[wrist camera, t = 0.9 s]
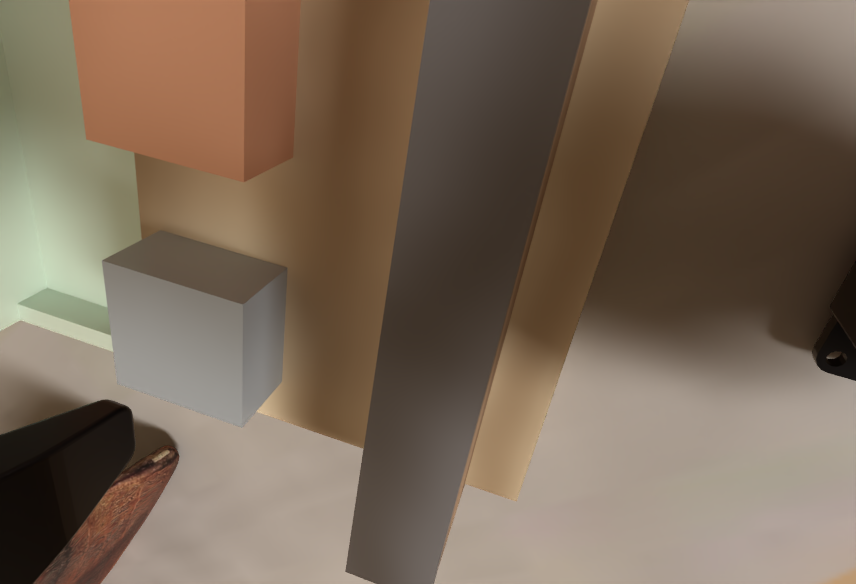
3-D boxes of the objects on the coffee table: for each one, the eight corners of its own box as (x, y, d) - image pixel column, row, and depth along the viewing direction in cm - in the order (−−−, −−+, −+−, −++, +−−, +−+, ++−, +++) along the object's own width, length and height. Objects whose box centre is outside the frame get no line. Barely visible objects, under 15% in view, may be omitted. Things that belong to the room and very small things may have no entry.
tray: (186, -146, 16) (72, -182, 13) (202, 345, 25) (136, 402, 21) (-45, -185, 18) (-203, -227, 14) (44, 293, 26) (-42, 338, 23)
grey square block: (287, 267, 18) (243, 304, 16) (281, 381, 20) (242, 427, 18) (160, 229, 19) (101, 260, 17) (168, 343, 21) (117, 383, 19)
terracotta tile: (302, -24, 14) (245, -27, 12) (292, 157, 16) (243, 182, 14) (140, -57, 15) (60, -65, 13) (153, 120, 17) (86, 139, 15)
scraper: (615, -58, 12) (612, -82, 8) (465, 484, 20) (427, 603, 16) (500, -77, 13) (445, -109, 9) (398, 461, 20) (345, 571, 16)
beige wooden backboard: (688, -36, 14) (703, -41, 12) (528, 442, 22) (516, 501, 20) (186, -125, 17) (108, -145, 14) (202, 335, 25) (153, 375, 22)
